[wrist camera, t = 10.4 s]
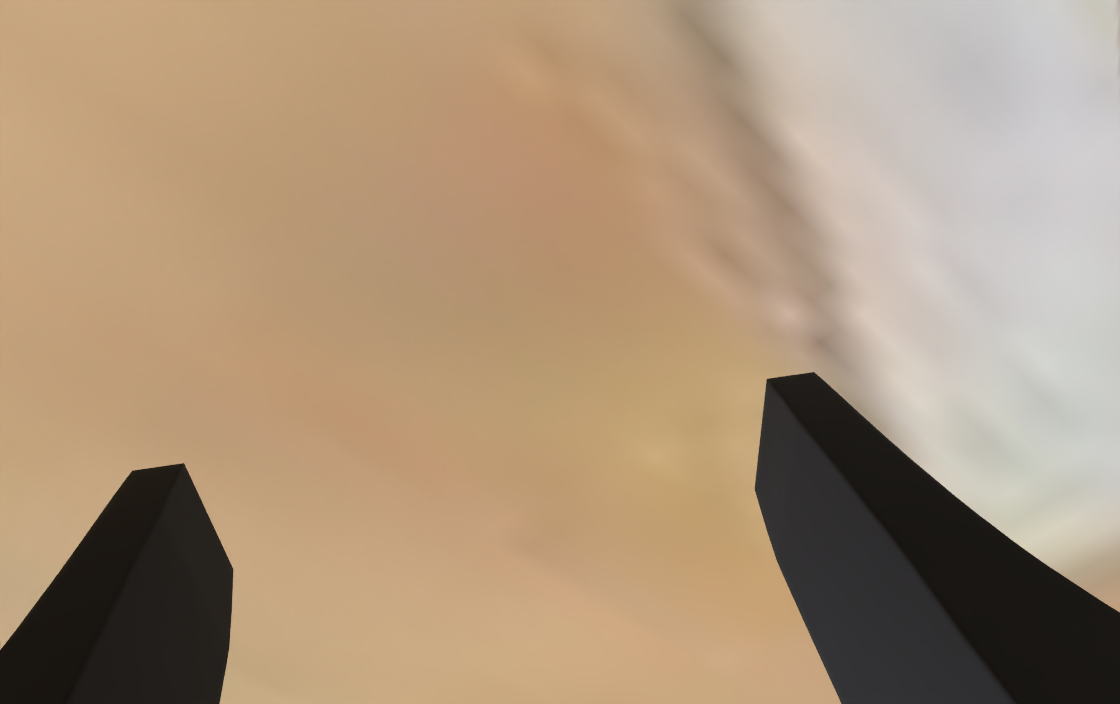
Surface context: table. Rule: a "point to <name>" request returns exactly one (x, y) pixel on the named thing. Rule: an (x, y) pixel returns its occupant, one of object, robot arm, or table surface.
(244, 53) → the table surface
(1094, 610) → the robot arm
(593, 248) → the table surface
